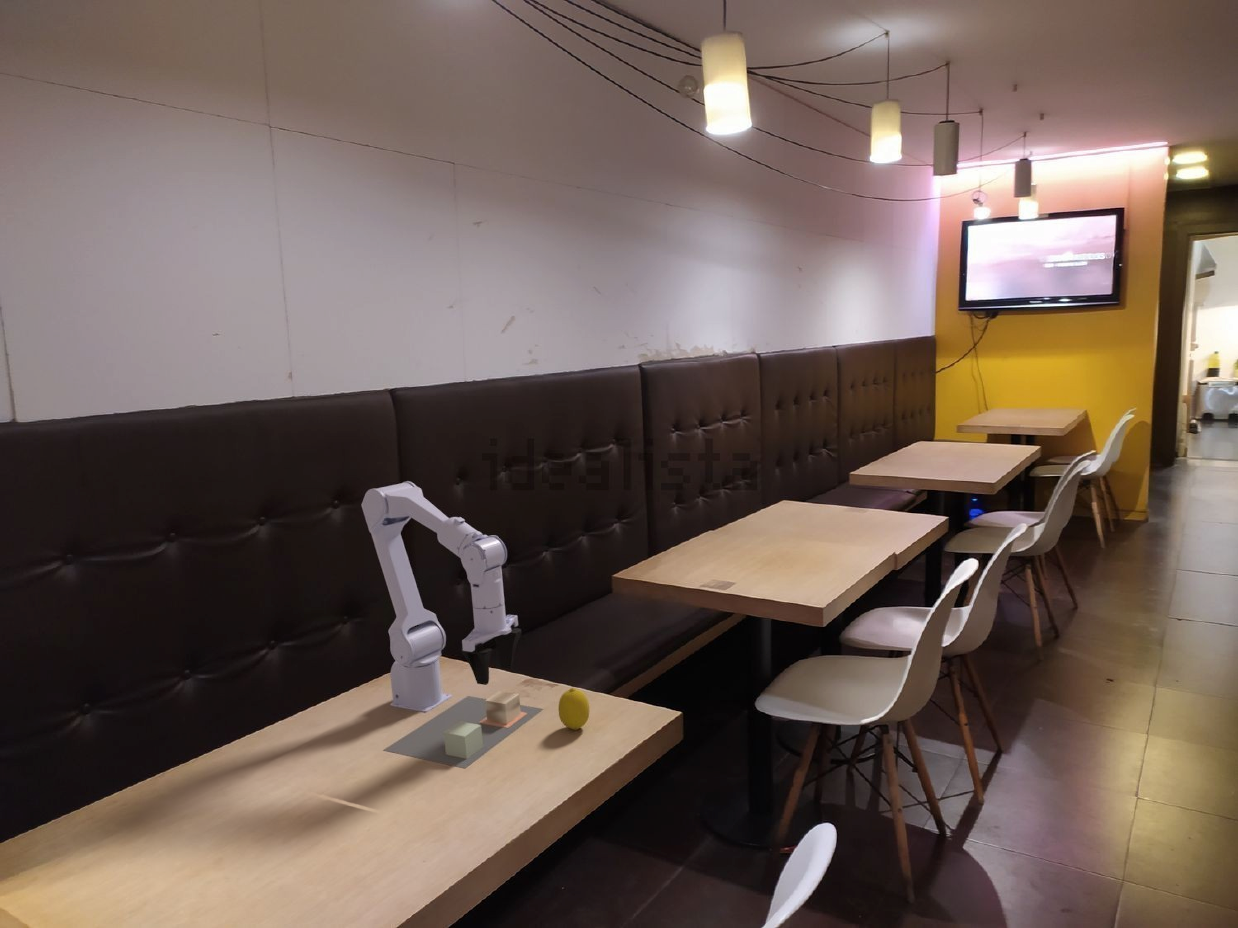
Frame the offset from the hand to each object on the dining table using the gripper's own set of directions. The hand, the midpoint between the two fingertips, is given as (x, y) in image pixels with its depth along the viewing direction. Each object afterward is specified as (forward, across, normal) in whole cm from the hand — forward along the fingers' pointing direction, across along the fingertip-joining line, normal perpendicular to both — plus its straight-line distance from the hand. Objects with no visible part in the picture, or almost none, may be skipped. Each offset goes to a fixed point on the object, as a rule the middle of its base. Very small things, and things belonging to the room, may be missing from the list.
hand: (495, 675), depth 153 cm
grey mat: (+9, -4, +4) cm, 11 cm away
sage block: (+9, -11, -1) cm, 14 cm away
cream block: (+9, +2, 0) cm, 9 cm away
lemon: (+10, +2, -15) cm, 18 cm away
